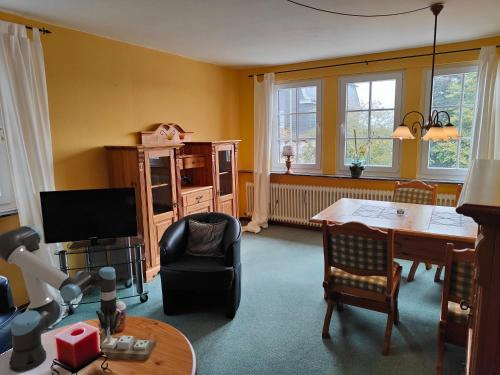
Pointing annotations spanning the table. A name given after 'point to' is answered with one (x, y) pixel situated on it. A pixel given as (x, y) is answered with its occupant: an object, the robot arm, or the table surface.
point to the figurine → (103, 331)
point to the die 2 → (125, 342)
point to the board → (129, 353)
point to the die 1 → (109, 343)
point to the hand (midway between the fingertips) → (109, 340)
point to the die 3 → (141, 345)
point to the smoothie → (122, 316)
